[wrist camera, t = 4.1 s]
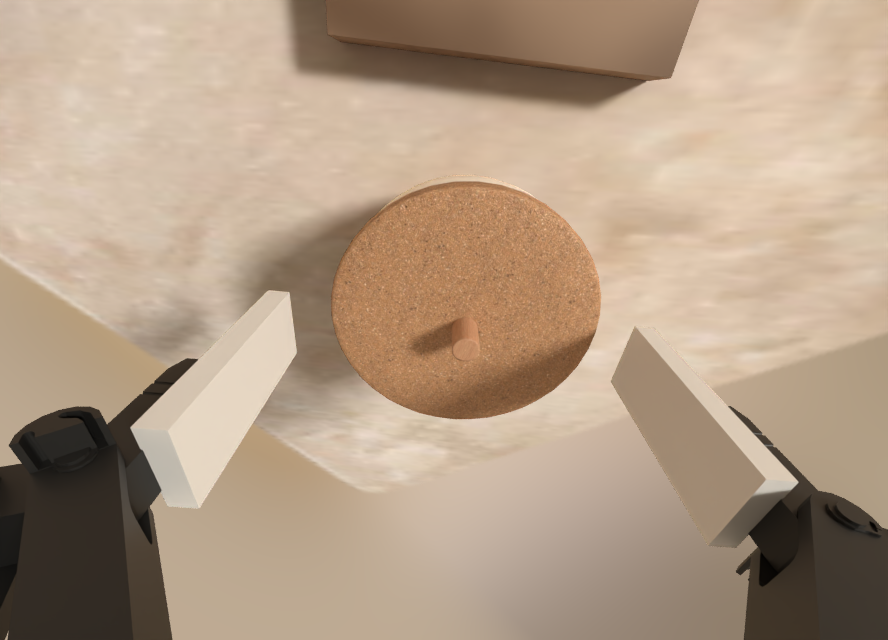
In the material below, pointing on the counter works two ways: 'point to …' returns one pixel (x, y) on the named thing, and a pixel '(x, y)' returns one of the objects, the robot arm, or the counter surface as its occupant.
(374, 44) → the walnut board
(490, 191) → the lidded jar
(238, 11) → the counter surface
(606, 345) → the counter surface
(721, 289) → the counter surface
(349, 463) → the counter surface
